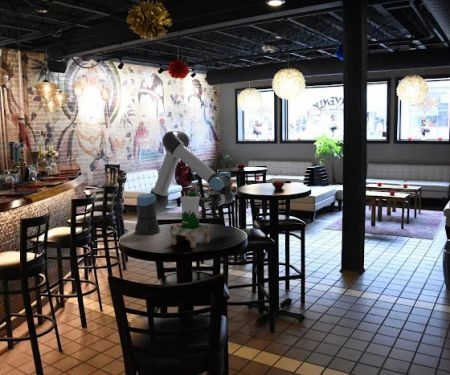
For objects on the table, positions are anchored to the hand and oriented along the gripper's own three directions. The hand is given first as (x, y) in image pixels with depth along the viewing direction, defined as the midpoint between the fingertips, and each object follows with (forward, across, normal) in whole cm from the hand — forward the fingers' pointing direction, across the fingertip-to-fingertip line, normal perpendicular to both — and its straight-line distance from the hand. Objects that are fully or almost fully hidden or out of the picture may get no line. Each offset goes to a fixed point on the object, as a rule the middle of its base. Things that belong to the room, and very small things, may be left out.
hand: (194, 204), depth 255 cm
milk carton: (+4, 0, -13) cm, 14 cm away
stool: (+4, 0, -21) cm, 22 cm away
